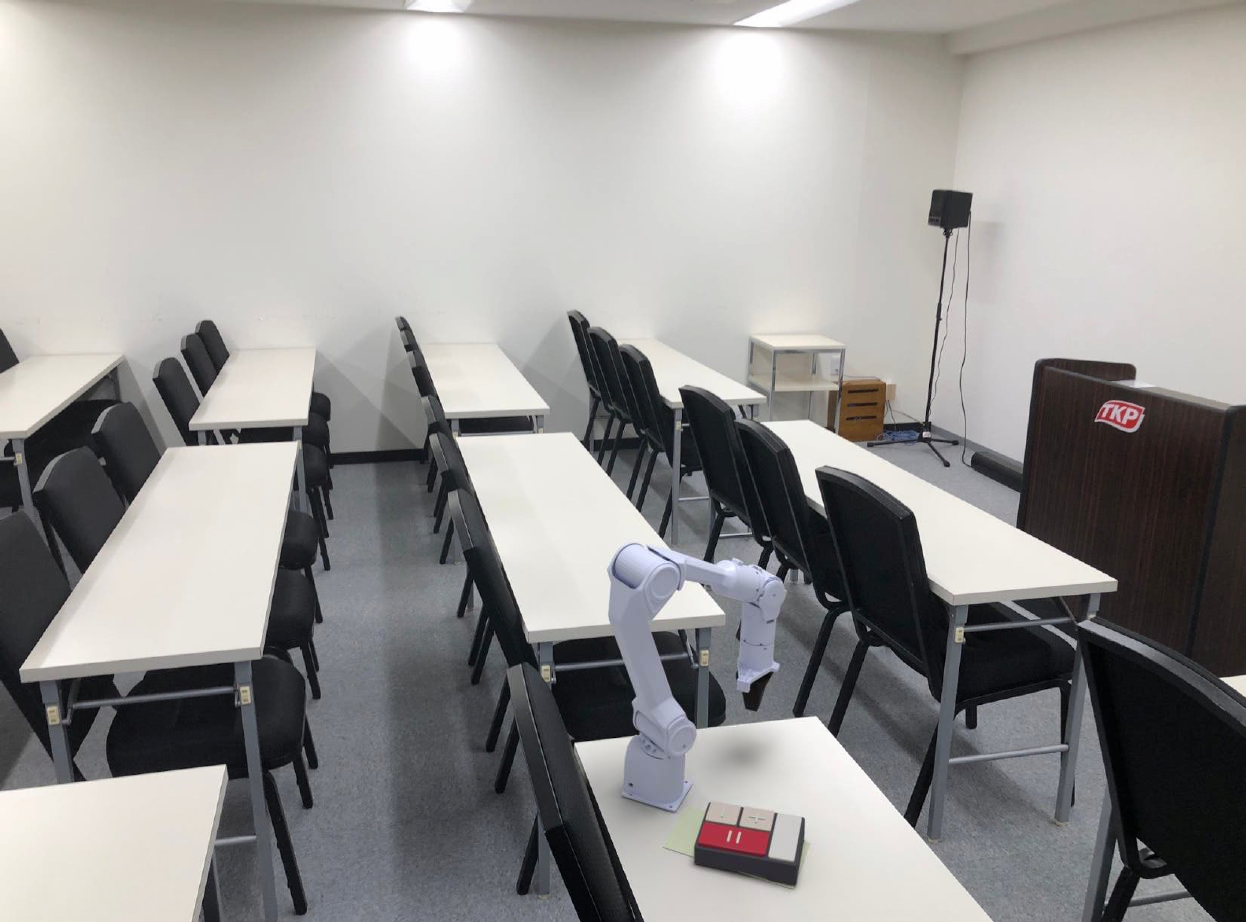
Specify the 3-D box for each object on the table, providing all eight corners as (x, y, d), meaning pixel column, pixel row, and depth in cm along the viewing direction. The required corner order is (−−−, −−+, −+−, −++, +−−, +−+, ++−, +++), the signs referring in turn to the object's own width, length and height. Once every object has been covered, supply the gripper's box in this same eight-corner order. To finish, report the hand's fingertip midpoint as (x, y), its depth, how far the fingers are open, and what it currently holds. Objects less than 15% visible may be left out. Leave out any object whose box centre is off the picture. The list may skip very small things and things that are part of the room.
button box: (708, 796, 148) (805, 812, 144) (708, 820, 149) (804, 836, 145) (693, 842, 138) (797, 861, 134) (693, 867, 139) (796, 886, 135)
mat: (662, 847, 142) (662, 846, 142) (686, 806, 151) (686, 805, 151) (793, 889, 135) (793, 888, 135) (810, 843, 144) (810, 842, 144)
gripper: (769, 662, 150) (763, 736, 154) (791, 624, 163) (785, 693, 167) (726, 652, 153) (721, 725, 157) (752, 615, 165) (747, 684, 169)
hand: (752, 708), depth 162 cm, fingers closed
